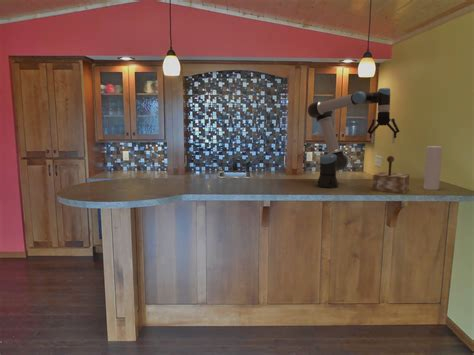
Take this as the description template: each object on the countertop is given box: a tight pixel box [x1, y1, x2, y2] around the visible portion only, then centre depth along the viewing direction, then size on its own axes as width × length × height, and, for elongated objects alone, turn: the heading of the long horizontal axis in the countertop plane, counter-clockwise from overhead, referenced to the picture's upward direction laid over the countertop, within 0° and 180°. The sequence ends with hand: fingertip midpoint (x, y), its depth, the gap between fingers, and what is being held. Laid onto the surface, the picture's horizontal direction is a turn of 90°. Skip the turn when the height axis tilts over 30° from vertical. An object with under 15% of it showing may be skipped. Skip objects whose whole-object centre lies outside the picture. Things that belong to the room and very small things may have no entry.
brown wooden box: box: [371, 175, 410, 194], centre depth 239 cm, size 20×16×10 cm
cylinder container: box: [423, 145, 443, 191], centre depth 241 cm, size 9×9×30 cm
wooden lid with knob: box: [372, 155, 410, 178], centre depth 237 cm, size 20×16×14 cm
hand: (382, 143), depth 237 cm, fingers open, 13 cm apart
